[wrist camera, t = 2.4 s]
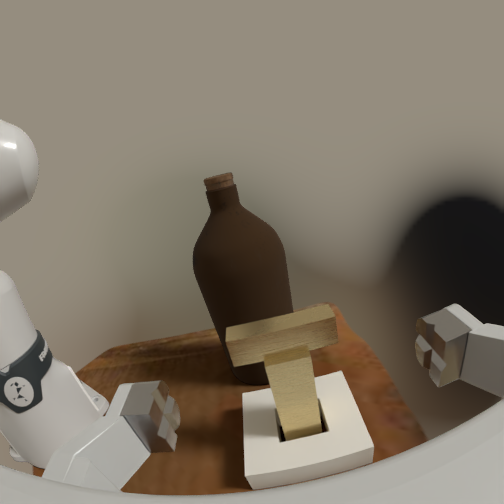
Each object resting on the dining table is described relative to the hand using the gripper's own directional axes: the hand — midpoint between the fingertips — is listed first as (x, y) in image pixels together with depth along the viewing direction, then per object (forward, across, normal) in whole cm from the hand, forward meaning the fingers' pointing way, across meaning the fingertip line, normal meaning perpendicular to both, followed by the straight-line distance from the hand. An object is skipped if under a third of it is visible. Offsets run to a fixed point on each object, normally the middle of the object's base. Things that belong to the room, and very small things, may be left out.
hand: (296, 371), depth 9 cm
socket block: (+12, 0, +20) cm, 23 cm away
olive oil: (+26, +3, +20) cm, 33 cm away
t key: (+12, 0, +20) cm, 23 cm away
